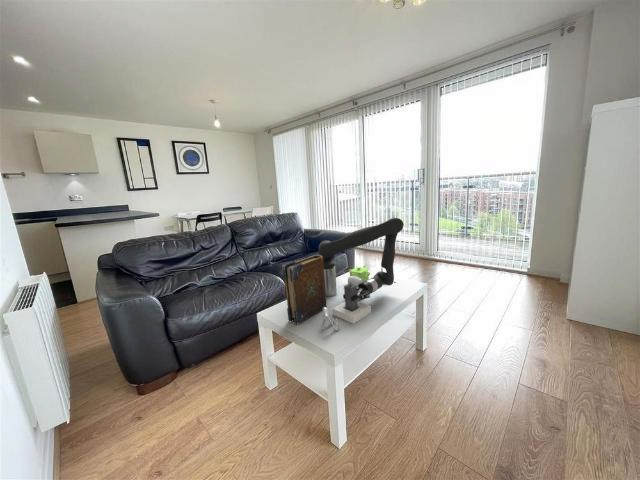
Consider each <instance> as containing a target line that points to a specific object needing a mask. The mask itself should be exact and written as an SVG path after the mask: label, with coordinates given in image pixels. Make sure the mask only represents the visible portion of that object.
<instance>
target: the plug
mask: <svg viewBox="0 0 640 480" xmlns="http://www.w3.org/2000/svg"><path fill="white" fill-rule="evenodd" d="M343 289H344V293H343V294H345V299H344V302H345V308H346V309H347V310H349V311H352V312H353V311H354V310H356V309H358V302H359V301H358V300H355V301H353V302H352V301H351V297H353V296H354V295H356V294H357V285H355V284H352V281H351V280H349V284H348V283H347V284H345V285H344V286H343Z"/></svg>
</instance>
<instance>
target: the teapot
mask: <svg viewBox="0 0 640 480" xmlns="http://www.w3.org/2000/svg"><path fill="white" fill-rule="evenodd" d="M348 273H349V277H350V276H356V277H359V278H360V279H362V280H363V282H364V281H366V280H368V279H370V278H369V277H370V275H371V272H370V271H369V267H366V264H363V266H355V267H354V268H352V269H348Z"/></svg>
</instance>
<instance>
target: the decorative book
mask: <svg viewBox="0 0 640 480" xmlns="http://www.w3.org/2000/svg"><path fill="white" fill-rule="evenodd" d="M281 267H282V268H281V269H282V275H283V280H284V284H285V285H284V287H285V294H286V295H285V296H286V303H287V304H286V305H287V308H286V311H287V320H289V321H292V320H294V319H295V320H294V323H295V324H296V325H295V326H297V325H298V326H300V325H301V324H302V322H303V323H305V322H306V321H308V319H309V318H311V317H313V316H314V315H316V314H317V313H320V312H321V311H323V307H326V308H327V305H328V303H327V296H326V290H325V278H324V265H323V256H321V255H319V254H316V255H311V256H308V257H305V258H303V259H299V260H298V261H289V262H286V263H285V264H282V265H281ZM289 321H288V322H289ZM304 321H305V322H304ZM292 322H293V321H292ZM299 324H300V325H299Z"/></svg>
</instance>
